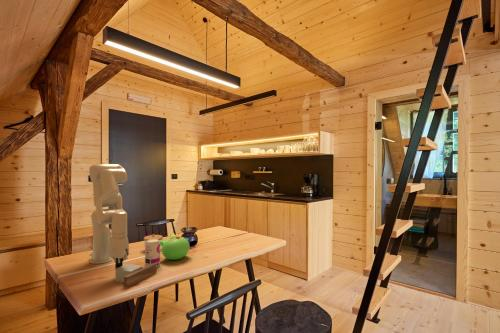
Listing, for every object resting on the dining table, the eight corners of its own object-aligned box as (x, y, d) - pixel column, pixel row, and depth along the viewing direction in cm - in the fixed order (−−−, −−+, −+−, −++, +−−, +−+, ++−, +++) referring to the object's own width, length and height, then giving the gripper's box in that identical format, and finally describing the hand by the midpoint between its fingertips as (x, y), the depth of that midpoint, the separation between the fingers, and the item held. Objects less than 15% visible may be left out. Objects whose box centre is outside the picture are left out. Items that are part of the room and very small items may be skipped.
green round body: (176, 265, 159) (176, 240, 159) (154, 260, 166) (154, 237, 166) (194, 256, 175) (194, 233, 175) (174, 252, 182) (174, 231, 182)
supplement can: (161, 263, 161) (161, 238, 161) (157, 268, 153) (157, 242, 153) (148, 263, 161) (148, 238, 161) (143, 268, 153) (143, 242, 153)
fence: (123, 286, 129) (124, 276, 129) (152, 272, 148) (152, 263, 148) (127, 287, 129) (128, 277, 129) (156, 272, 147) (156, 263, 147)
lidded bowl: (165, 247, 193) (165, 232, 193) (157, 253, 181) (158, 236, 181) (148, 247, 195) (149, 231, 195) (140, 252, 182) (140, 236, 182)
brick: (115, 280, 137) (115, 268, 137) (127, 274, 144) (127, 263, 144) (130, 283, 133) (130, 271, 133) (142, 277, 141) (142, 266, 141)
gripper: (102, 235, 140) (102, 270, 140) (124, 238, 135) (124, 274, 135) (114, 232, 147) (114, 265, 147) (135, 234, 142) (135, 269, 142)
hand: (118, 269), depth 141 cm, fingers closed
